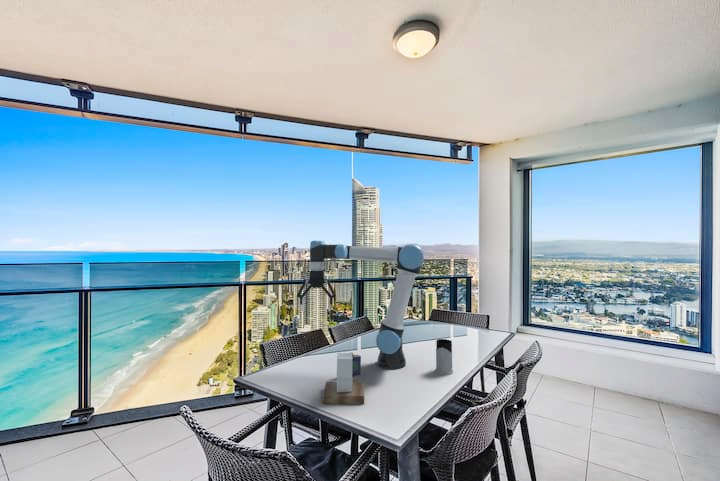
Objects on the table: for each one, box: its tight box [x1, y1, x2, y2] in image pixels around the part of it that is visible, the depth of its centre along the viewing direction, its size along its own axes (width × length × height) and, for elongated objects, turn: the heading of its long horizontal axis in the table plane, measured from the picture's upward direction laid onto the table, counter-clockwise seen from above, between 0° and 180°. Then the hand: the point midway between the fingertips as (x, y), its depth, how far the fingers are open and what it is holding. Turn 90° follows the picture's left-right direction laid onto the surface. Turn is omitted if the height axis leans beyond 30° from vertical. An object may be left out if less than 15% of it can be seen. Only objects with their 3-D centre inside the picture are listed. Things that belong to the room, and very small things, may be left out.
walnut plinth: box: [322, 381, 365, 405], centre depth 126 cm, size 16×14×3 cm
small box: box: [336, 352, 353, 392], centre depth 126 cm, size 8×6×13 cm
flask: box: [350, 351, 362, 378], centre depth 148 cm, size 9×3×11 cm, turn 121°
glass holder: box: [435, 338, 454, 376], centre depth 157 cm, size 9×14×15 cm, turn 152°
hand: (316, 311), depth 160 cm, fingers open, 13 cm apart
